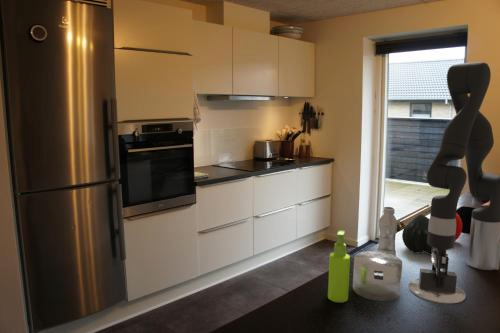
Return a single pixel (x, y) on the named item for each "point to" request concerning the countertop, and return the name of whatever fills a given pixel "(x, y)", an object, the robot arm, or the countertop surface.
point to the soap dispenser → (339, 271)
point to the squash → (417, 235)
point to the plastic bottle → (387, 231)
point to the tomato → (458, 227)
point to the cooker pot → (377, 275)
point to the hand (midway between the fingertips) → (437, 281)
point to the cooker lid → (429, 291)
